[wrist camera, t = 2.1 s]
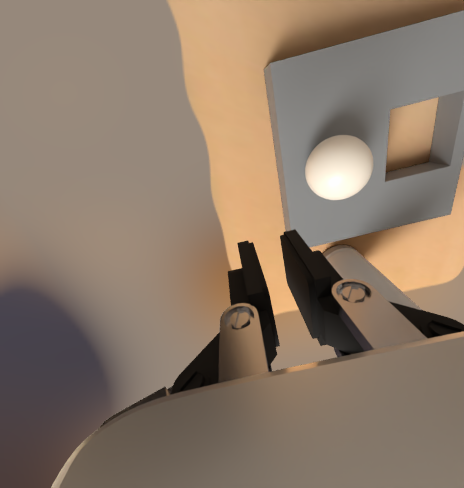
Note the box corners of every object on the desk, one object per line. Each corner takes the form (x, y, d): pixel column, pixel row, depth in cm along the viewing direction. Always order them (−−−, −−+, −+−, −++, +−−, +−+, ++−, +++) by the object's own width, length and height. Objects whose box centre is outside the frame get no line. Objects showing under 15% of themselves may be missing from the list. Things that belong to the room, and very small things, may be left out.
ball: (294, 141, 24) (317, 147, 19) (352, 126, 24) (391, 128, 19) (299, 196, 27) (320, 215, 22) (351, 184, 27) (385, 199, 21)
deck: (263, 69, 24) (270, 63, 21) (465, 15, 23) (497, 1, 20) (287, 240, 33) (293, 251, 30) (431, 206, 32) (450, 214, 29)
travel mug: (363, 241, 34) (526, 372, 16) (351, 279, 37) (478, 423, 19) (321, 242, 34) (441, 376, 16) (312, 280, 37) (406, 428, 19)
